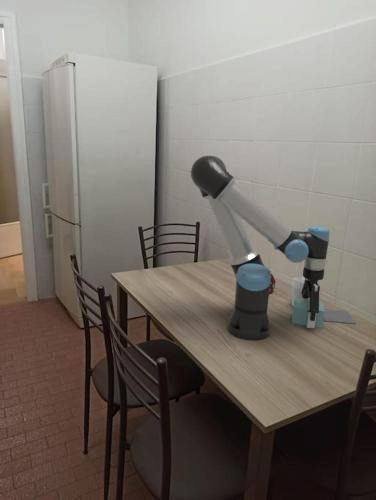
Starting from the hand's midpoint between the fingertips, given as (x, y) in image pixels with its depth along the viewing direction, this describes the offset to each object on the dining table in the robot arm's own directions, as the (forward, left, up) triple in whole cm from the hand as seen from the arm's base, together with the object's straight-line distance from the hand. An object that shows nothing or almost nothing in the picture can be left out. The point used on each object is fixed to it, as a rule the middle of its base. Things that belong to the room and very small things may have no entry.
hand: (307, 320), depth 141 cm
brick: (0, 0, 0) cm, 0 cm away
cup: (+14, 0, 0) cm, 14 cm away
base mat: (+7, -13, 0) cm, 15 cm away
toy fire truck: (+29, +15, 0) cm, 33 cm away
